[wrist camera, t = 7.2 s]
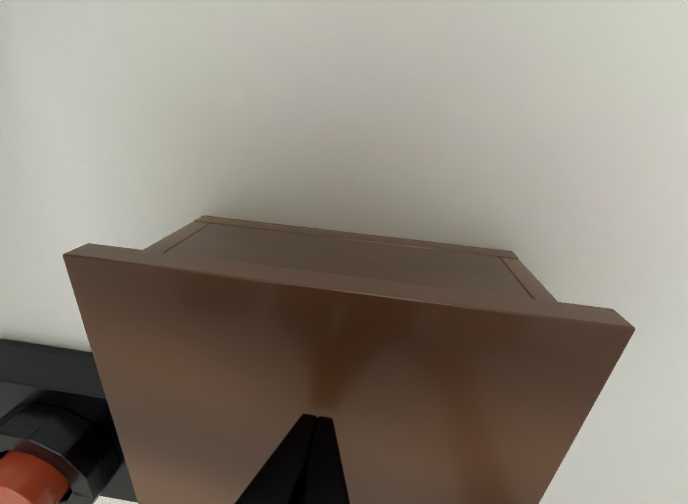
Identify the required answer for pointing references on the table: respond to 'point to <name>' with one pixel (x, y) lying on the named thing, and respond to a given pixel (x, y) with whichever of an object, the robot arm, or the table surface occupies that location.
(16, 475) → the button
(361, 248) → the box
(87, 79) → the table surface
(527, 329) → the lid
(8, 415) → the panel
